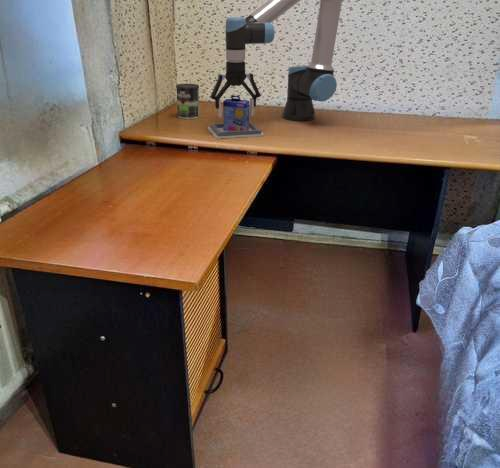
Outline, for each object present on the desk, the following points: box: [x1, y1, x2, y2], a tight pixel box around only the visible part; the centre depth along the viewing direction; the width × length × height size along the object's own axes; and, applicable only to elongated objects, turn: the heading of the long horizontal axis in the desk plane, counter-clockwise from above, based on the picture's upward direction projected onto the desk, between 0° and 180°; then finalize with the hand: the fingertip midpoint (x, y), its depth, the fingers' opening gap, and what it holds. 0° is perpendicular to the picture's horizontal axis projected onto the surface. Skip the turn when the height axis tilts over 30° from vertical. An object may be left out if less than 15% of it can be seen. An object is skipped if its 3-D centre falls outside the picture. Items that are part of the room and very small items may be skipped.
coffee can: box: [175, 83, 200, 120], centre depth 219 cm, size 10×10×14 cm
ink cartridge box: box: [222, 94, 250, 131], centre depth 195 cm, size 10×6×14 cm, turn 73°
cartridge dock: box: [207, 121, 265, 140], centre depth 198 cm, size 20×16×2 cm
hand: (235, 115), depth 196 cm, fingers open, 13 cm apart
